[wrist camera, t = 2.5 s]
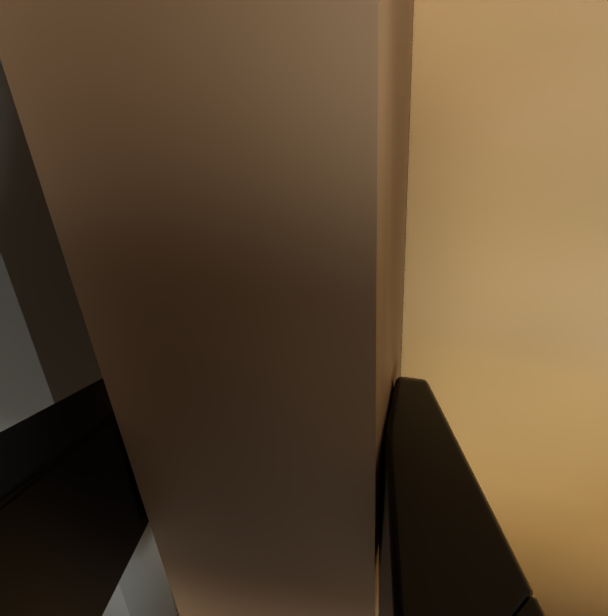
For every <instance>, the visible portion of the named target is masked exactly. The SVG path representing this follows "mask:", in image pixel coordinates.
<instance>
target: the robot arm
mask: <svg viewBox="0 0 608 616" xmlns="http://www.w3.org/2000/svg"><path fill="white" fill-rule="evenodd" d="M148 523H149V520H148V517H147V514H146V510H145V507H144V504H143V501H142V498H141V495H140V492H139V489H138V486H137V482H136V479H135V476H134V473H133V470H132V467H131V464H130V461H129V458H128V454H127V451H126V448H125V445H124V442H123V439H122V436H121V433H120V430H119V426H118V423H117V420H116V417H115V414H114V411H113V408H112V405H111V402H110V399H109V395H108V392H107V389H106V386H105V383H104V380H103V378H102V379H100V380H98V381H96V382H94V383H92V384H90V385H88V386H86V387H85V388H83V389H81V390H79V391H77V392H75V393H73V394H71V395H69V396H68V397H66V398H64V399H62V400H60V401H58V402H56V403H54V404H52V405H50V406H49V407H47V408H45V409H43V410H41V411H39V412H37V413H35V414H33V415H32V416H30V417H28V418H26V419H24V420H22V421H20V422H18V423H16V424H15V425H13V426H11V427H9V428H7V429H5V430H3V431H1V432H0V616H102V615H103V613H104V611H105V609H106V607H107V605H108V603H109V601H110V599H111V597H112V595H113V593H114V591H115V589H116V587H117V585H118V583H119V581H120V579H121V577H122V575H123V573H124V571H125V569H126V567H127V565H128V563H129V561H130V559H131V557H132V555H133V553H134V551H135V549H136V547H137V545H138V543H139V541H140V539H141V537H142V535H143V533H144V531H145V529H146V527H147V525H148ZM532 595H533V591H532V589H531V587H530V585H529V583H528V581H527V579H526V577H525V575H524V573H523V571H522V569H521V567H520V565H519V563H518V561H517V559H516V557H515V555H514V553H513V551H512V549H511V547H510V545H509V543H508V541H507V539H506V537H505V535H504V533H503V531H502V529H501V527H500V525H499V523H498V521H497V519H496V517H495V515H494V513H493V511H492V509H491V507H490V505H489V503H488V501H487V499H486V497H485V495H484V493H483V491H482V489H481V487H480V485H479V483H478V481H477V479H476V477H475V475H474V473H473V471H472V469H471V467H470V465H469V463H468V461H467V459H466V457H465V455H464V453H463V452H462V450H461V448H460V446H459V444H458V442H457V440H456V438H455V436H454V434H453V432H452V430H451V428H450V426H449V424H448V422H447V420H446V418H445V416H444V414H443V412H442V410H441V408H440V406H439V404H438V402H437V400H436V398H435V396H434V394H433V392H432V390H431V388H430V386H429V384H428V383H427V381H425V380H423V379H417V378H409V377H398V378H397V379H396V381H395V385H394V390H393V396H392V401H391V406H390V412H389V417H388V422H387V428H386V435H385V448H384V465H383V481H382V498H381V514H380V531H379V600H378V616H545V614H544V612H543V610H542V608H541V606H540V604H539V602H538V600H537V599H536V598H535V597H532Z"/></svg>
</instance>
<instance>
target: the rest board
mask: <svg viewBox="0 0 608 616" xmlns="http://www.w3.org/2000/svg"><path fill="white" fill-rule="evenodd" d="M102 378H103V377H102V374H101V371H100V367H99V364H98V361H97V358H96V355H95V352H94V349H93V346H92V343H91V339H90V336H89V333H88V330H87V327H86V324H85V321H84V318H83V315H82V311H81V308H80V305H79V302H78V299H77V296H76V293H75V290H74V287H73V284H72V280H71V277H70V274H69V271H68V268H67V265H66V262H65V259H64V256H63V252H62V249H61V246H60V243H59V240H58V237H57V234H56V231H55V228H54V224H53V221H52V218H51V215H50V212H49V209H48V206H47V203H46V200H45V196H44V193H43V190H42V187H41V184H40V181H39V178H38V175H37V172H36V168H35V165H34V162H33V159H32V156H31V153H30V150H29V147H28V144H27V141H26V137H25V134H24V131H23V128H22V125H21V122H20V119H19V116H18V113H17V109H16V106H15V103H14V100H13V97H12V94H11V91H10V88H9V85H8V81H7V78H6V75H5V72H4V69H3V66H2V63H1V60H0V432H1V431H3V430H5V429H7V428H9V427H11V426H13V425H15V424H16V423H18V422H20V421H22V420H24V419H26V418H28V417H30V416H32V415H33V414H35V413H37V412H39V411H41V410H43V409H45V408H47V407H49V406H50V405H52V404H54V403H56V402H58V401H60V400H62V399H64V398H66V397H68V396H69V395H71V394H73V393H75V392H77V391H79V390H81V389H83V388H85V387H86V386H88V385H90V384H92V383H94V382H96V381H98V380H100V379H102ZM102 616H178V614H177V611H176V607H175V604H174V600H173V596H172V593H171V589H170V585H169V582H168V579H167V576H166V573H165V569H164V566H163V563H162V560H161V557H160V554H159V551H158V548H157V545H156V542H155V538H154V535H153V532H152V529H151V526H150V523H148V525H147V527H146V529H145V531H144V533H143V535H142V537H141V539H140V541H139V543H138V545H137V547H136V549H135V551H134V553H133V555H132V557H131V559H130V561H129V563H128V565H127V567H126V569H125V571H124V573H123V575H122V577H121V579H120V581H119V583H118V585H117V587H116V589H115V591H114V593H113V595H112V597H111V599H110V601H109V603H108V605H107V607H106V609H105V611H104V613H103V615H102Z"/></svg>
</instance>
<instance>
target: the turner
mask: <svg viewBox="0 0 608 616" xmlns="http://www.w3.org/2000/svg"><path fill="white" fill-rule="evenodd" d="M413 13H414V0H0V60H1V63H2V66H3V69H4V72H5V75H6V78H7V81H8V85H9V88H10V91H11V94H12V97H13V100H14V103H15V106H16V109H17V113H18V116H19V119H20V122H21V125H22V128H23V131H24V134H25V137H26V141H27V144H28V147H29V150H30V153H31V156H32V159H33V162H34V165H35V168H36V172H37V175H38V178H39V181H40V184H41V187H42V190H43V193H44V196H45V200H46V203H47V206H48V209H49V212H50V215H51V218H52V221H53V224H54V228H55V231H56V234H57V237H58V240H59V243H60V246H61V249H62V252H63V256H64V259H65V262H66V265H67V268H68V271H69V274H70V277H71V280H72V284H73V287H74V290H75V293H76V296H77V299H78V302H79V305H80V308H81V311H82V315H83V318H84V321H85V324H86V327H87V330H88V333H89V336H90V339H91V343H92V346H93V349H94V352H95V355H96V358H97V361H98V364H99V367H100V371H101V374H102V377H103V380H104V383H105V386H106V389H107V392H108V395H109V399H110V402H111V405H112V408H113V411H114V414H115V417H116V420H117V423H118V426H119V430H120V433H121V436H122V439H123V442H124V445H125V448H126V451H127V454H128V458H129V461H130V464H131V467H132V470H133V473H134V476H135V479H136V482H137V486H138V489H139V492H140V495H141V498H142V501H143V504H144V507H145V510H146V514H147V517H148V520H149V523H150V526H151V529H152V532H153V535H154V538H155V542H156V545H157V548H158V551H159V554H160V557H161V560H162V563H163V566H164V569H165V573H166V576H167V579H168V582H169V585H170V588H171V591H172V594H173V597H174V601H175V604H176V607H177V610H178V613H179V616H378V600H379V531H380V514H381V498H382V481H383V465H384V448H385V435H386V428H387V422H388V417H389V412H390V406H391V401H392V396H393V390H394V385H395V381H396V379H397V378H398V377H401V351H402V323H403V295H404V267H405V238H406V210H407V182H408V154H409V126H410V98H411V69H412V41H413Z"/></svg>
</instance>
